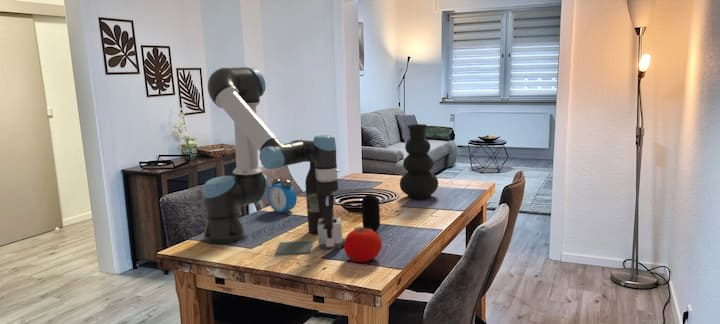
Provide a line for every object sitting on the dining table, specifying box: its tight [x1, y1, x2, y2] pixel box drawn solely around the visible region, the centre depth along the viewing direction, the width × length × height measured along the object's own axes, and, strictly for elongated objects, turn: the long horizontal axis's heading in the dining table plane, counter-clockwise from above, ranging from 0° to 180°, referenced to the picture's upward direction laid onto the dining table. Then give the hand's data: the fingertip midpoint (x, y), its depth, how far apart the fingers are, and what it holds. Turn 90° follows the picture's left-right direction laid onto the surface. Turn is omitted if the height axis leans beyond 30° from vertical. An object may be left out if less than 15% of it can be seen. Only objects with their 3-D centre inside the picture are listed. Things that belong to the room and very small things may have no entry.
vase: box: [399, 123, 439, 200], centre depth 243 cm, size 18×18×35 cm
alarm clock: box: [267, 178, 298, 214], centre depth 231 cm, size 13×6×15 cm, turn 53°
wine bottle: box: [305, 162, 325, 235], centre depth 196 cm, size 7×7×30 cm
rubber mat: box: [274, 240, 313, 256], centre depth 180 cm, size 12×12×1 cm
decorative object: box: [361, 193, 381, 233], centre depth 193 cm, size 7×7×15 cm
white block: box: [317, 217, 343, 245], centre depth 180 cm, size 8×8×7 cm
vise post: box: [319, 214, 373, 251], centre depth 180 cm, size 19×8×11 cm, turn 91°
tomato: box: [343, 228, 383, 263], centre depth 165 cm, size 11×12×10 cm
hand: (330, 242), depth 181 cm, fingers closed on white block, 8 cm apart
